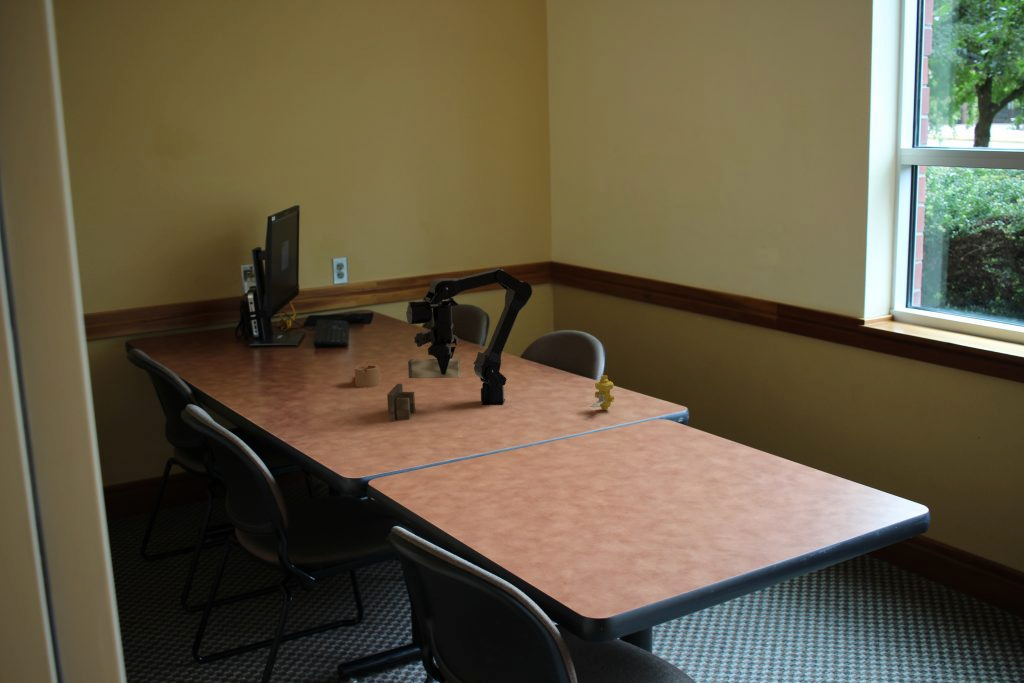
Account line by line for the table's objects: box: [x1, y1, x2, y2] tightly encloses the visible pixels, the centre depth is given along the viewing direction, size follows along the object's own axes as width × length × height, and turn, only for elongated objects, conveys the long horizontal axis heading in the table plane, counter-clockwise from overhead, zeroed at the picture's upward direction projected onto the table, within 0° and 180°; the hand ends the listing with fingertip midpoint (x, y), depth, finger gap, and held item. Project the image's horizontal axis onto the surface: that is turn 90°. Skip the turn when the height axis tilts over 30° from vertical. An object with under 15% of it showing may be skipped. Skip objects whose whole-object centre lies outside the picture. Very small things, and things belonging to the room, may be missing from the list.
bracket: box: [354, 364, 383, 389], centre depth 336 cm, size 18×8×7 cm, turn 5°
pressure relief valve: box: [589, 374, 615, 411], centre depth 289 cm, size 6×12×10 cm, turn 155°
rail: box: [407, 358, 461, 379], centre depth 298 cm, size 15×4×5 cm, turn 85°
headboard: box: [386, 383, 416, 423], centre depth 292 cm, size 6×14×8 cm, turn 175°
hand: (444, 373), depth 298 cm, fingers closed on rail, 4 cm apart
